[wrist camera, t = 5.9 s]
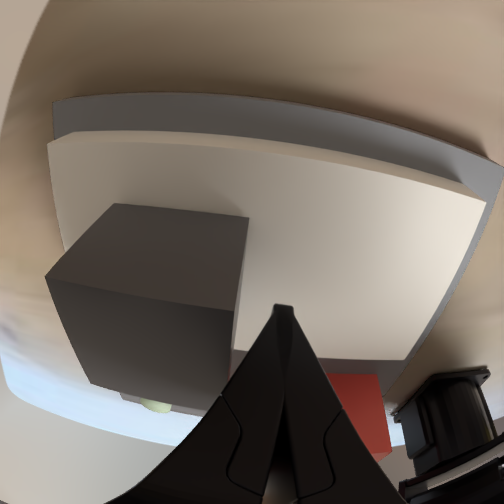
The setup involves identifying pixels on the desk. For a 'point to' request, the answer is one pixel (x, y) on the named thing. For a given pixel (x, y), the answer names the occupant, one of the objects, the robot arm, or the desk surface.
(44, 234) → the desk surface
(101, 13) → the desk surface
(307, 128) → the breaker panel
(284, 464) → the robot arm
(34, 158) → the desk surface
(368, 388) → the red block
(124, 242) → the grey cube
